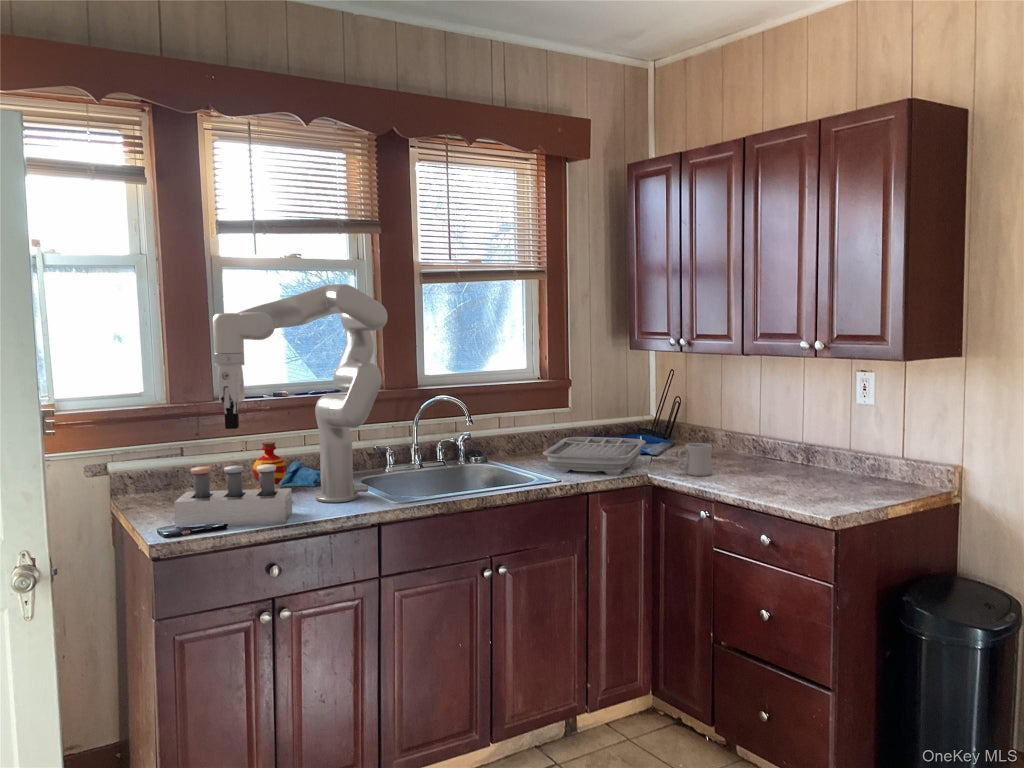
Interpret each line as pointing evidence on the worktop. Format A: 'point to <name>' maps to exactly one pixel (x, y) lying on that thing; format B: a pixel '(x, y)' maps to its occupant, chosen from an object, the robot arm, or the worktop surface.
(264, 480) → the knob
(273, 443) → the potion bottle
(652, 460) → the worktop surface
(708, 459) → the mug
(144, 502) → the worktop surface
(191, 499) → the mount
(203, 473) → the knob
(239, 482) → the knob mid
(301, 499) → the worktop surface
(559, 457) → the dish rack
